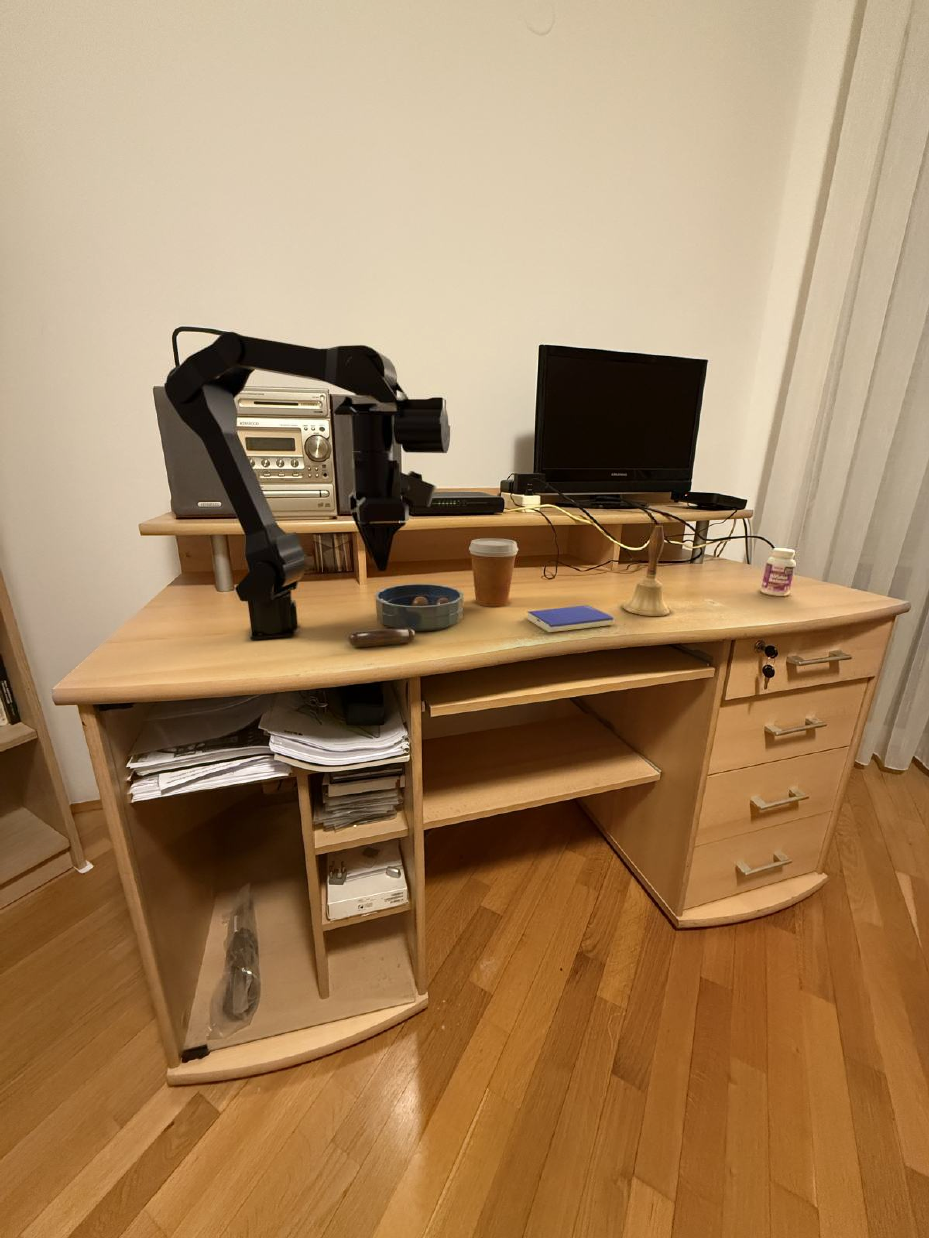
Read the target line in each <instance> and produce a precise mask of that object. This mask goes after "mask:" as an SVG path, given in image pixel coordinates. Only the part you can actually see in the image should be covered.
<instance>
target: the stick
mask: <svg viewBox="0 0 929 1238" xmlns="http://www.w3.org/2000/svg"><path fill="white" fill-rule="evenodd" d="M415 639H416V631H414V630H413V629H412V628H409V627H405V628H382V629H371V630H370V629H368V630H358V631H357V630H356V631H353V632H352V633H350V634H349V635H348V643H349V645H350V646H351V647H352V648H368V647H380V646H391V645H402V644H410V643H412V642H413V641H414V640H415Z"/></svg>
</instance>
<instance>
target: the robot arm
mask: <svg viewBox="0 0 929 1238" xmlns="http://www.w3.org/2000/svg"><path fill="white" fill-rule="evenodd" d="M255 370H256V371H260V372H261V371H262V372H267V373H273V374H277V375H278V374H279V375H283V376H289V377H294V378H301V379H306V380H313V381H317V382H323V383H327V384H329V385H332V386H334V387H337V388H339V389H342V390H344V391H347V392H350V393H352V394H355V395H358V396H361V397H364V398H366V399H370V400H372V401H377V402H378V403H381V404H383V405H387V406H390V407H393V408H396V410H381V408H380V406H379V405H378V404H377V403H376V402H356V400H355V399H354V398H353V397H350V396H344V398H343V401H342V402H341V403H340V404H338V405H337V407H336V408H335V409H334V410H333V413H334V415H335V416H340V417H344V418H349V419H350V420H349V421H350V438H351V451H352V452H351V457H352V459H350V464H351V468H352V475H353V489H352V492H351V493H350V494H349V495H348V509H349V510H351V511H350V514H351V517H352V519H353V521H354V523H355V526H356V528H357V530H358V533H359V536H360V537H361V539H362V542H363V544H364V546H365V549H366V551H367V554H368V555H369V558H370V559H372V560H373V562H374V565H375V567H376V569H377V571H378V572H386V571H387V569H388V564H389V560H390V556H391V555H390V554H391V551H392V544H393V542H394V536H395V534H396V533H397V532H399V530H400V529H402V528H403V527H405V526H406V524H407V521H410V520H409V519H410V518H409V516H410V515H409V514H410V513H409V505H408V504H407V503H406V501H404V500H403V499H402V497H404V498H407V499H408V500H409V499H410V500H412V501H414V503H417V504H420V505H422V506H423V507H424V506H425V507H427V508H430V507H431V504H432V501H433V498H434V495H435V492H436V490H437V485H435V484H433V483H430V482H427V481H424V480H423V474H421V473H419V472H415V470H414V471H413V470H410V471H409V472H408V473H404V472H401V471H400V470H401V469H400V467H401V466H400V462H398V460H396V458H395V444H396V445H400V446H401V447H402V450H403V452H404V453H411V454H412V453H413V454H416V453H417V454H424V453H425V454H447V453H448V451H449V448H450V441H451V425H449V415H448V411H447V400H446V399H445V398H443V397H441V396H439V397H437V396H435V397H430V398H409V397H408V395H407V394H406V393H405V391H404V390H403V388H402V386H401V385H400V384H399V382H398V374H397V370H396V367H395V365H394V363H393V362H392V360H391V359H390V358H389V357H387V356H386V355H383V354H382V353H380V352H379V351H377V350H376V349H374V348H372V347H370V346H368V345H364V344H356V345H354V344H353V345H337V346H332V347H326V348H316V347H312V346H305V345H299V344H294V343H287V342H283V341H282V342H281V341H277V340H271V339H265V338H259V337H254V336H247V335H242V334H240V333H237V332H235V331H227V332H223V333H222V334H220V335H219V336H218V337H217V338H216V339H215V341H213V342H212V343H211V344H209V345H208V346H206V347H204V348H202V349H201V350H198V351H196V352H194V353H192V354H191V355H189V356H188V357H186V358H185V359H184V361H183V362H181V364H180V365H177V366H175V367H173V368H172V369H171V370H170V371H169V373H168V374H167V376H166V381H165V383H163V387H164V392H165V393H164V394H165V396H166V398H167V399H168V401H169V403H170V405H171V407H172V408H173V409H174V411H175V413H176V414H177V416H178V417H179V418H180V420H181V421H182V422H183V423H184V424H185V425H186V426H187V427H188V428H189V429H190V430H191V431H192V432H193V433H194V434H195V435H196V436H197V437H198V438H199V440H201V442H202V444H203V446H204V448H205V451H206V452H207V455H208V457H209V459H210V461H211V463H212V466H213V468H214V470H215V472H216V474H217V477H218V479H219V481H220V483H221V486H222V488H223V490H224V492H225V494H226V496H227V499H228V500H229V503H230V505H231V507H232V510H233V512H234V513H235V516H236V518H237V520H238V522H239V525H240V527H241V529H242V531H243V534H244V537H245V538H244V539H245V541H244V559H245V563H246V566H247V569H248V572H247V574H246V575H245V576H244V577H243V578H242V579H241V580H240V582H239V583H238V584H237V585H236V586H235V587H234V588H235V589H234V590H235V592H236V594H237V596H238V598H239V601H240V602H246V603H247V607H248V608H247V609H248V615H249V623H250V624H249V625H250V634H249V639H250V640H251V641H253V640H265V639H277V638H279V639H280V638H288V637H290V638H291V637H294V636H296V630H298V628H299V619H298V607H297V601H296V600H294V599H293V597H292V591H295V590H297V587H298V584H299V581H300V580H301V579H302V577H304V574H305V572H306V569H307V562H306V559H305V558H307V557H308V554H307V553H306V552H305V551H304V549H303V547H302V545H301V542H300V539H299V536H298V533H296V531H292V532H289V533H287V532H286V531H285V530H283V528H281V527H280V526H279V524H278V522H277V521H276V519H275V516H274V513H273V512H272V509H271V507H270V505H269V503H268V500H267V498H266V496H265V494H264V491H263V488H262V486H261V484H260V481H259V479H258V478H257V475H256V473H255V470H254V468H253V466H252V464H251V461H250V459H249V457H248V455H247V453H246V450H245V448H244V445H243V444H242V443H243V442H242V441H241V438H240V436H239V434H238V431H237V429H238V428H237V425H238V408H237V405H236V402H235V398H236V397H237V396H238V395H239V394H240V393H241V392H243V390H244V389H245V387H246V385H247V383H248V380H249V378H250V376H251V375H252V373H253V372H255Z"/></svg>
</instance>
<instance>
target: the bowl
mask: <svg viewBox="0 0 929 1238" xmlns="http://www.w3.org/2000/svg"><path fill="white" fill-rule="evenodd" d="M373 597H374V599H373V600H374V616H375V619H376V621H378V622H379V623H381V624H383V625H385V626H386V627H388V628H389V629H393V628H405V627H409V628H412V629H413V630H414V631H415V632H433V631H438V630H443V629H446V628H449V627H451V626H453V625H454V624H456V623H458V622H460V621H461V620H462V619H463V617H464V593H463V592H462V591H461V590H460V589H457V588H454V587H452V586H447V585H442V584H434V583H409V584H407V583H405V584H399V585H392V586H389V587H385V588H381V589H380V590H378V591H376V592H375V594H374V596H373ZM417 597H424V598H426V599H427V600H428V602H429V606H412V602H413V600H414V599H415V598H417ZM441 598H446V599H448V600H449V601H450V602H449V603H445V604H440V605H435V604H436V602H437V601H438V600H439V599H441Z"/></svg>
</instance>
